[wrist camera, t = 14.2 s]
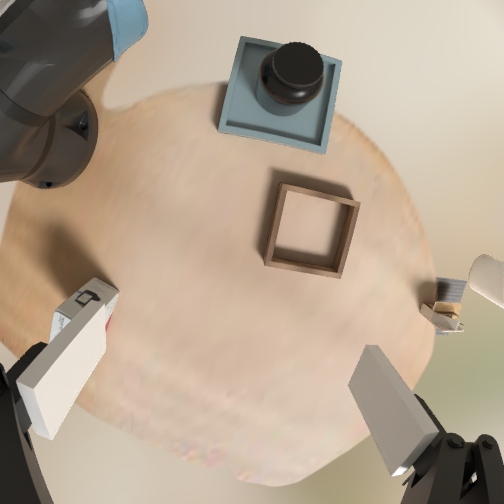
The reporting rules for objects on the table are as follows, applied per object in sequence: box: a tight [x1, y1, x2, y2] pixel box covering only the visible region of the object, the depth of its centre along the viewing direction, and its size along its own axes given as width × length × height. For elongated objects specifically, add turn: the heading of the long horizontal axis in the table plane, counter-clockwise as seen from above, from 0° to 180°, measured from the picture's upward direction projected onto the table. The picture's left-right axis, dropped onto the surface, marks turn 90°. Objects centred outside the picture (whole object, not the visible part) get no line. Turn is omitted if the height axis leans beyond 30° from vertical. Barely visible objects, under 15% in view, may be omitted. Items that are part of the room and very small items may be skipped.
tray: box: [218, 36, 342, 155], centre depth 34 cm, size 14×14×2 cm
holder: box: [263, 183, 361, 279], centre depth 39 cm, size 11×11×2 cm
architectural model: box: [420, 301, 463, 333], centre depth 41 cm, size 3×7×7 cm, turn 81°
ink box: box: [49, 277, 119, 343], centre depth 35 cm, size 9×5×12 cm, turn 151°
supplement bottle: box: [255, 42, 324, 116], centre depth 28 cm, size 7×7×12 cm
